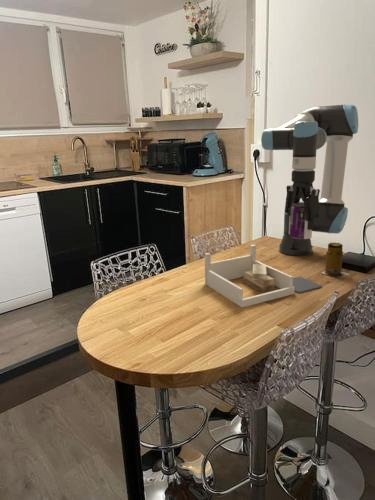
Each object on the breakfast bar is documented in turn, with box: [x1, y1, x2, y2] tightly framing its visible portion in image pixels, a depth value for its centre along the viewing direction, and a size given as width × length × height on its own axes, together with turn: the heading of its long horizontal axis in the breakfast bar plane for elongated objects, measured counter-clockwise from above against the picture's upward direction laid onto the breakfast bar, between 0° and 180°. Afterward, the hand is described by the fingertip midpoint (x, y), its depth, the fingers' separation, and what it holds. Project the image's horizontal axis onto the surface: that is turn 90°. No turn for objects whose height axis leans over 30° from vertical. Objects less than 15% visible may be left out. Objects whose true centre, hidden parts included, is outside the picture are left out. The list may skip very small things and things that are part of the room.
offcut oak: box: [244, 270, 274, 288], centre depth 140 cm, size 5×11×2 cm, turn 25°
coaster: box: [293, 276, 323, 294], centre depth 140 cm, size 11×11×1 cm
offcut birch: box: [252, 264, 267, 280], centre depth 139 cm, size 5×10×2 cm, turn 170°
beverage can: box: [289, 201, 311, 239], centre depth 133 cm, size 7×7×12 cm
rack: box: [204, 244, 295, 308], centre depth 137 cm, size 22×24×12 cm
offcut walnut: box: [242, 276, 276, 294], centre depth 141 cm, size 5×12×2 cm, turn 29°
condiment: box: [320, 242, 350, 279], centre depth 149 cm, size 7×8×12 cm
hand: (299, 235), depth 135 cm, fingers closed on beverage can, 7 cm apart
